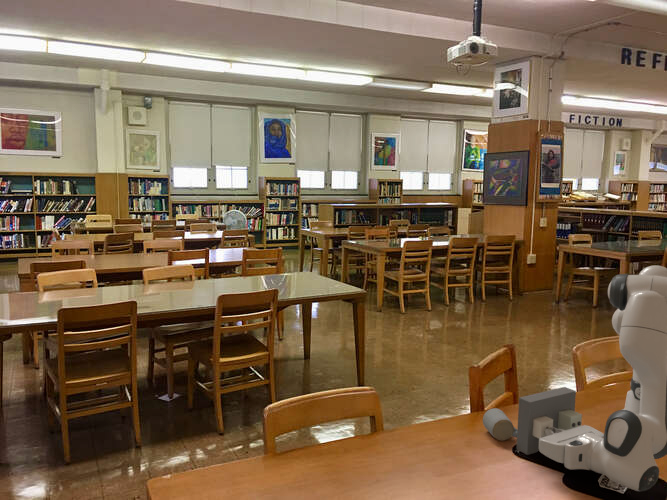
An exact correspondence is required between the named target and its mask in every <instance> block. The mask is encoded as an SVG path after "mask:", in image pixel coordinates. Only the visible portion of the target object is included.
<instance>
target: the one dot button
mask: <svg viewBox="0 0 667 500" xmlns="http://www.w3.org/2000/svg"><path fill="white" fill-rule="evenodd" d="M550 427H553V419H551V418H549V417H546V416H541V417H537V418H533V431H532V435H533V436H534V437H536V438H538V439H540V438H542V437H546V436H547V435H545V429H547V428H550Z"/></svg>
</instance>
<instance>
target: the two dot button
mask: <svg viewBox="0 0 667 500" xmlns="http://www.w3.org/2000/svg"><path fill="white" fill-rule="evenodd" d="M582 420H583V414H582V413H580V412H577V411H573V410H570V409H567V410H563V411H560V412H559V416H558V428H559V429H562V430H569V429H572V428H576V427H579V426H582V423H583V422H582Z"/></svg>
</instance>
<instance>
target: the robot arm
mask: <svg viewBox="0 0 667 500" xmlns="http://www.w3.org/2000/svg"><path fill="white" fill-rule="evenodd" d="M607 297H608V300H609V303H610V305H612V307H613V308H616V310H615V311H614V313H613V315H612V318H611V324H612V328H613V329H614V331H615V332H616V334H617V335H618V342H619V352H620V353H621V355H622V357H623V358H624V359H625V360H626V362H627V364H628V365H630V366H631V368H632V369H633V371H632V377H631V378H630V382H629V383H630V384H629V385H630V390H628V391H627V393H626V398H625V403H624V408H622V409H618V410H616V411H614V412H612V413H611V414H610V415H609V416H608V417H607V420H606V423H605V427H604V431H603V432H602V431H600V430H598V429H596V428H594V427H592V426H590V425H587V424H583V425H582V424H581V426H579V427H576V428H572V429H569V430H562V429H556V428H554V427H550V428H547V429H545V435H547V436H546V437H542V438H540V439H539V452H540V453H541V454H542V455H544V456H545V457H547V458H549V459H551V460H553V461H555V462H557V463H561V464H563V465H564V468H566V469H568V470H587V471H593V472H595V473H598V474H602V475H604V476H606V477H607V478H608V479H609V480H610V481H612V482H614V483H616V484H618V485H621V486H623V487H624V488H627V489H629V490H630V489H631V490H634V491H635V492H645V491H648V490H650V489H651V488H653V486H655V485H656V484H657V481H658V479H659V476H660V468H659V466H658V465H657V462H656V460H658V459H662V458H664V457H665V456H666V455H667V267H665V266H662V265H658V264H657V265H650V266H646V267H644V268H643V269H642V270H641V271H640V272H639V273H638V274H629V273H619V274H616V275H615V276H613V277H612V279H611V280H610V283H609V284H608V287H607Z"/></svg>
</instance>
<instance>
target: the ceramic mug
mask: <svg viewBox="0 0 667 500" xmlns="http://www.w3.org/2000/svg"><path fill="white" fill-rule="evenodd" d="M482 425H483V426H484V428H485V429H486V430H487V432H489V433H490V435H491V436H492V437H493V438H495V439H496V440H498V441H507V440H509V439H511V437H514V438H516V439H517V430H518V428H516V427H514V425H513V422H512V421H511V419H510V418H508V416H507V415H506V413H505V412H504V411H503V410H501V409H500V408H496V407H495V408H490V409H488V410H486V411H485V412H484V414H483V418H482Z"/></svg>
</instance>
